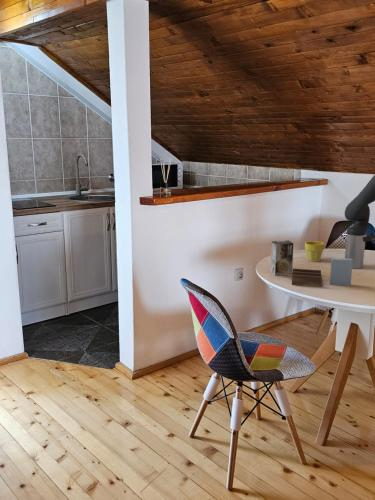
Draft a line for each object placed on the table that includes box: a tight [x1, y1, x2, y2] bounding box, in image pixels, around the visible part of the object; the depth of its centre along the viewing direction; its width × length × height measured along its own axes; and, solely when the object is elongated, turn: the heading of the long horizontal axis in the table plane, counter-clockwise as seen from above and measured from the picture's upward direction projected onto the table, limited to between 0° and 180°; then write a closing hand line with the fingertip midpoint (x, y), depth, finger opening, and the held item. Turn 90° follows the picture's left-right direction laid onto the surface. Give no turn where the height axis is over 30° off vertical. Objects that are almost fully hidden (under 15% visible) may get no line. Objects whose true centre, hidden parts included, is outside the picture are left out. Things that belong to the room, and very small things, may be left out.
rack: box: [291, 268, 323, 287], centre depth 219 cm, size 11×13×4 cm
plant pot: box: [304, 240, 326, 263], centre depth 257 cm, size 10×10×10 cm
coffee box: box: [270, 239, 294, 277], centre depth 231 cm, size 9×6×16 cm
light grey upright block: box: [329, 257, 353, 287], centre depth 214 cm, size 3×9×12 cm, turn 76°
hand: (366, 240), depth 209 cm, fingers open, 8 cm apart
